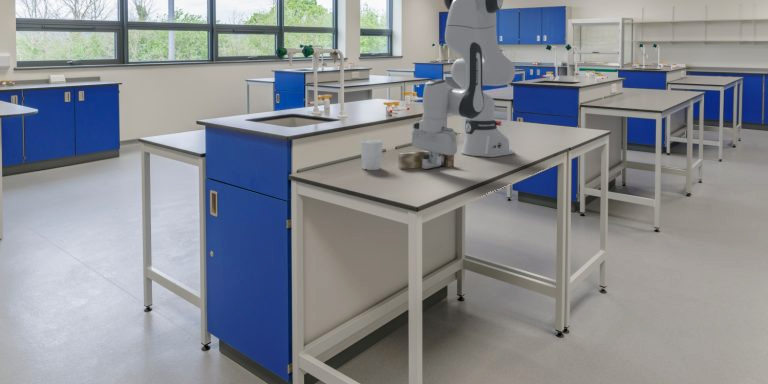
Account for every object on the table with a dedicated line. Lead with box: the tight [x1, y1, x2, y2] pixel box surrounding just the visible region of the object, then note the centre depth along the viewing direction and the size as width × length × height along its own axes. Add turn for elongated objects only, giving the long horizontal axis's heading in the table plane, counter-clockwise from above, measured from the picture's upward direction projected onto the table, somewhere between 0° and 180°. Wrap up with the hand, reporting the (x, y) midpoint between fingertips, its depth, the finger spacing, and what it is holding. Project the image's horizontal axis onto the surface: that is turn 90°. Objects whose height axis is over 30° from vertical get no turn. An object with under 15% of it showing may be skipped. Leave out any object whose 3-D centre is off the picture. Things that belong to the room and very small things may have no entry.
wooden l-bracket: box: [397, 150, 455, 170], centre depth 228 cm, size 20×6×6 cm, turn 118°
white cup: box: [360, 139, 383, 171], centre depth 224 cm, size 8×8×10 cm
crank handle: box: [421, 154, 445, 170], centre depth 227 cm, size 11×3×5 cm, turn 135°
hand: (433, 163), depth 223 cm, fingers closed
